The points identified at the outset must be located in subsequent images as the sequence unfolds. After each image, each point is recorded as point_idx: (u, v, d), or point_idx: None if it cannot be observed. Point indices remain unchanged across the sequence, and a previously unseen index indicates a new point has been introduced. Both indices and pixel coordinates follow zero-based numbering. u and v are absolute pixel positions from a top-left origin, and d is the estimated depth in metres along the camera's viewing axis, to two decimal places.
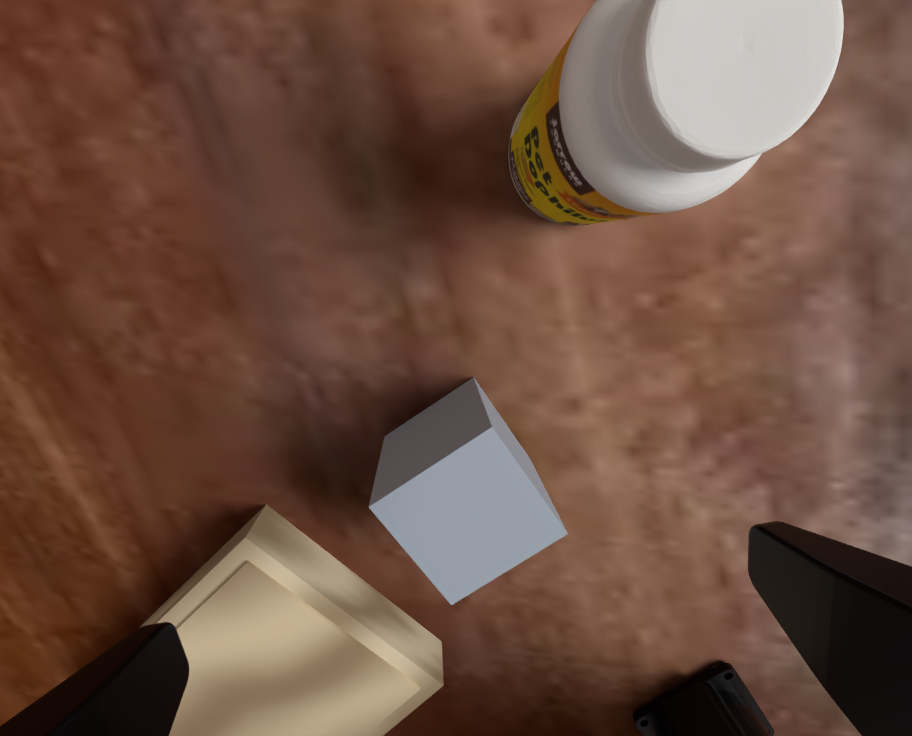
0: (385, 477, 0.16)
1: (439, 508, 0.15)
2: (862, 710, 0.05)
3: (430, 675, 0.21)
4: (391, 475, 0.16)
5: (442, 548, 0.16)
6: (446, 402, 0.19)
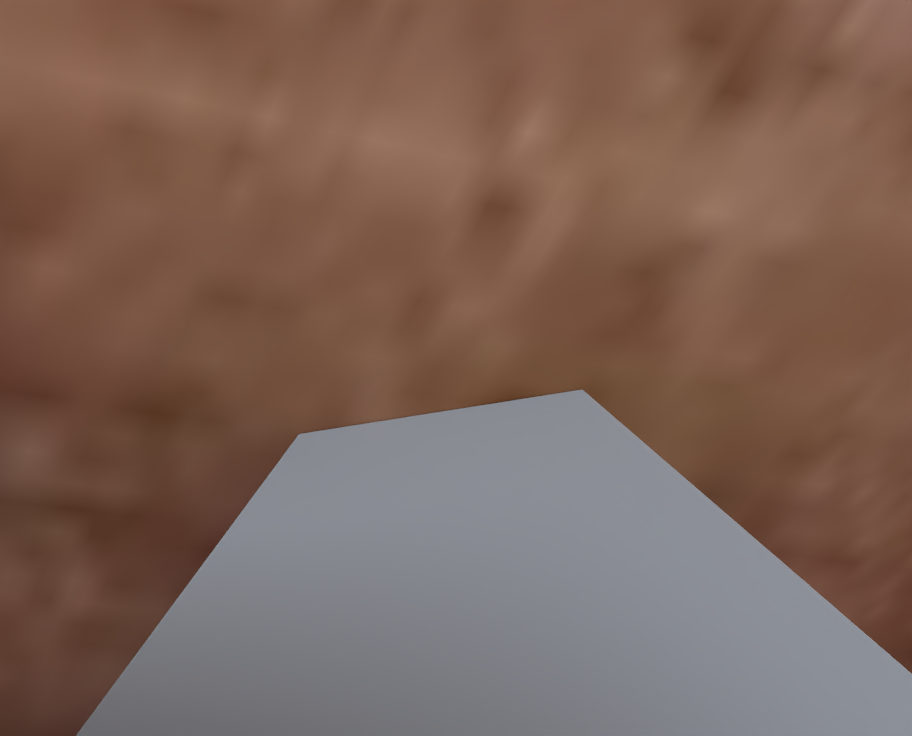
0: None
1: None
2: None
3: None
4: None
5: None
6: None
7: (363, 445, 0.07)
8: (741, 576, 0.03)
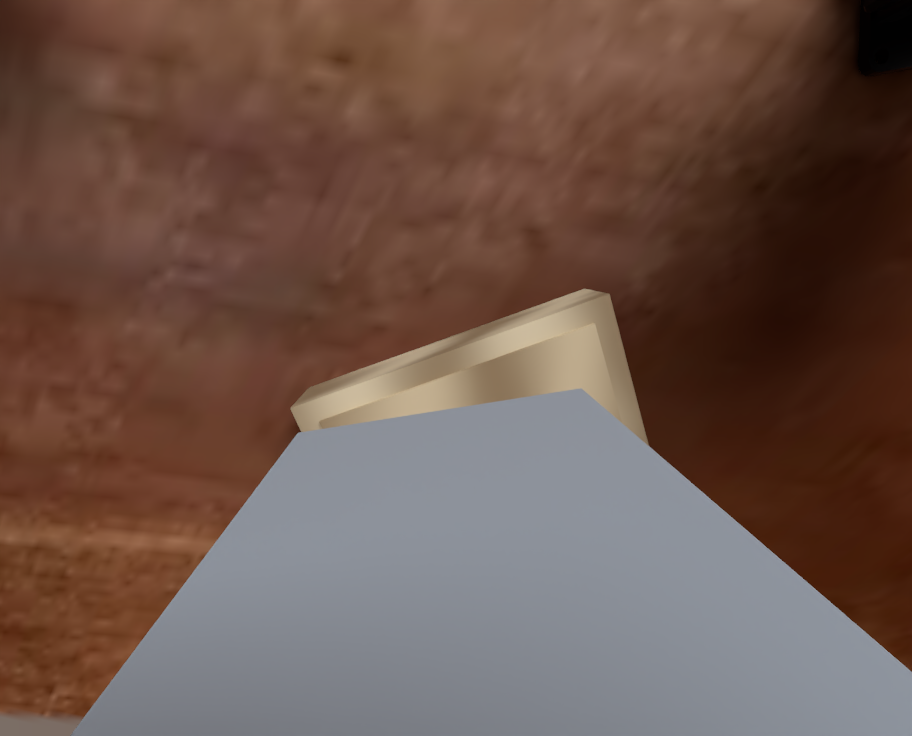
0: None
1: None
2: None
3: (585, 302, 0.16)
4: None
5: None
6: None
7: (362, 444, 0.07)
8: (739, 573, 0.03)
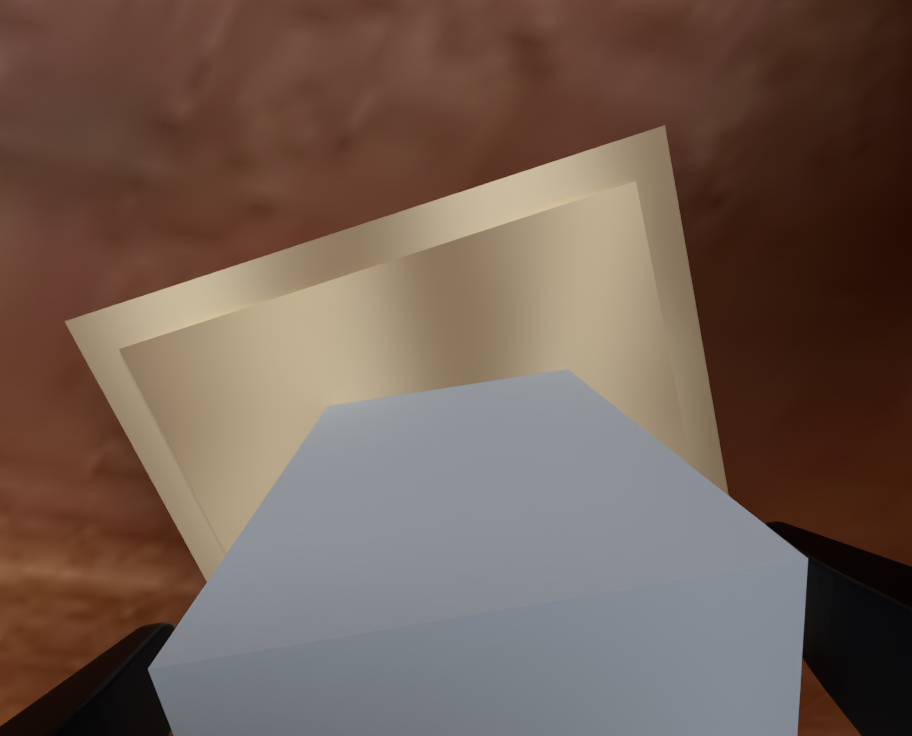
0: None
1: None
2: (863, 711, 0.05)
3: (618, 141, 0.08)
4: None
5: None
6: None
7: (384, 412, 0.08)
8: (667, 479, 0.05)
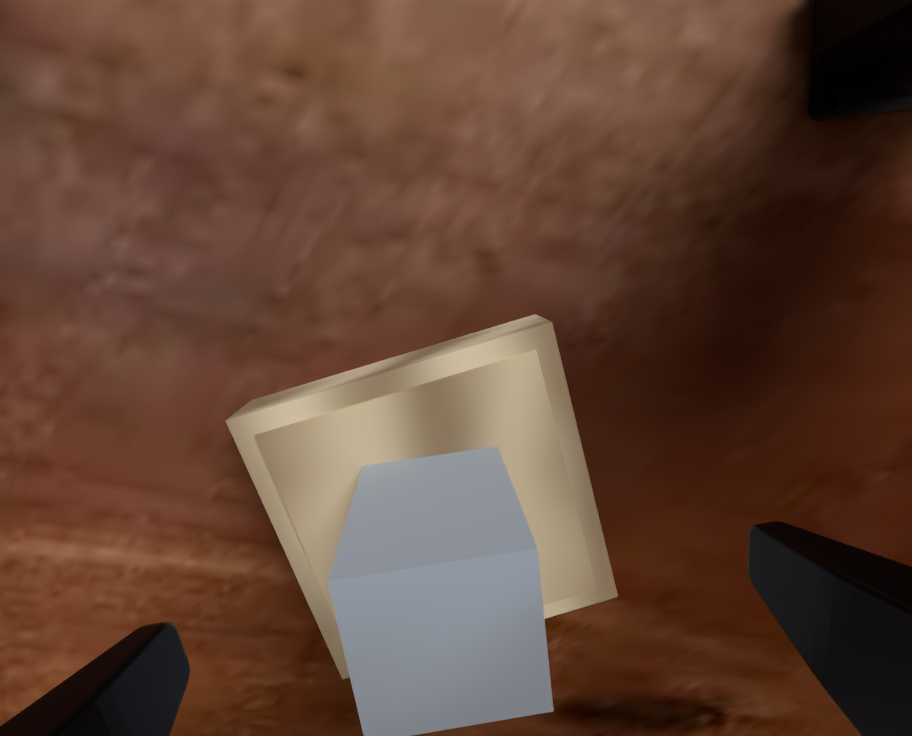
0: None
1: (409, 675, 0.11)
2: (863, 710, 0.05)
3: (527, 329, 0.16)
4: None
5: (467, 692, 0.11)
6: None
7: (395, 473, 0.15)
8: (511, 518, 0.12)
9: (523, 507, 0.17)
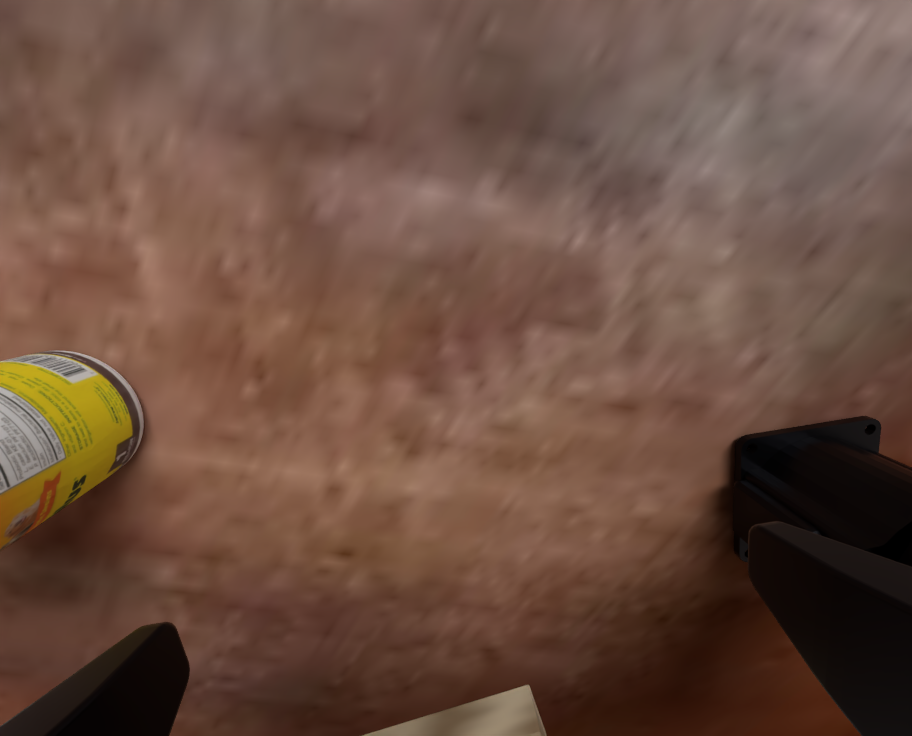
0: None
1: None
2: (863, 710, 0.05)
3: None
4: None
5: None
6: None
7: None
8: None
9: None
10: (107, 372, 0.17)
